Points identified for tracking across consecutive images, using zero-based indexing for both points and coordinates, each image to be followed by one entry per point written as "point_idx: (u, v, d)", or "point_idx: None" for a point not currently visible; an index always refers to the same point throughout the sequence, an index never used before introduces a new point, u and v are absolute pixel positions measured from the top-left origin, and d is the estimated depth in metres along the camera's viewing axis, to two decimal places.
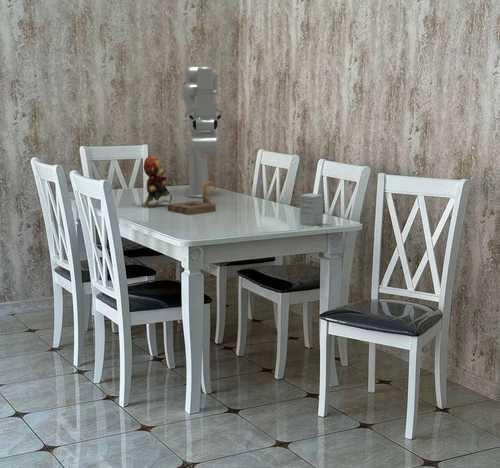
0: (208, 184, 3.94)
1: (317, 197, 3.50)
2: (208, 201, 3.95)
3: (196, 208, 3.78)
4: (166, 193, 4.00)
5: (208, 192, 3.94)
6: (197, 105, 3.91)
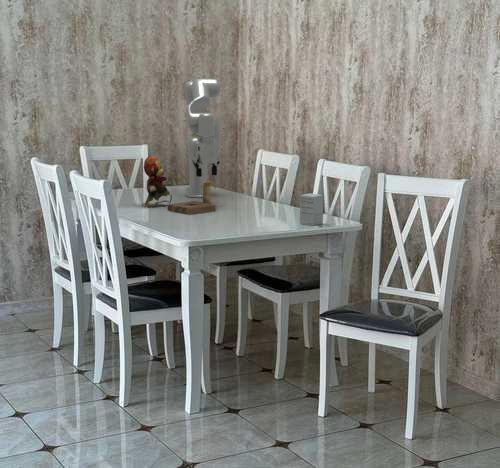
0: (208, 184, 3.94)
1: (317, 197, 3.50)
2: (208, 201, 3.95)
3: (196, 208, 3.78)
4: (166, 193, 4.00)
5: (208, 192, 3.94)
6: None
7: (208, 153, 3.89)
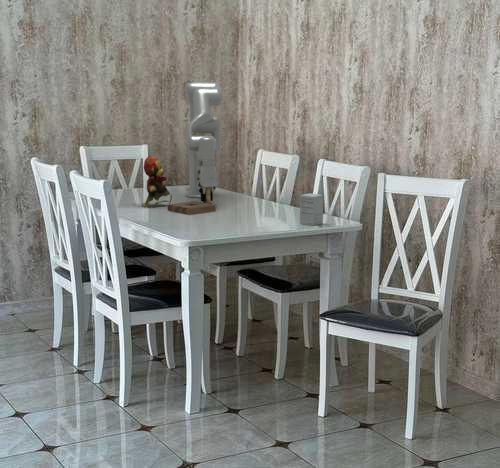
0: None
1: (317, 197, 3.50)
2: (208, 201, 3.95)
3: (196, 208, 3.78)
4: (166, 193, 4.00)
5: (208, 192, 3.94)
6: None
7: (208, 176, 3.92)
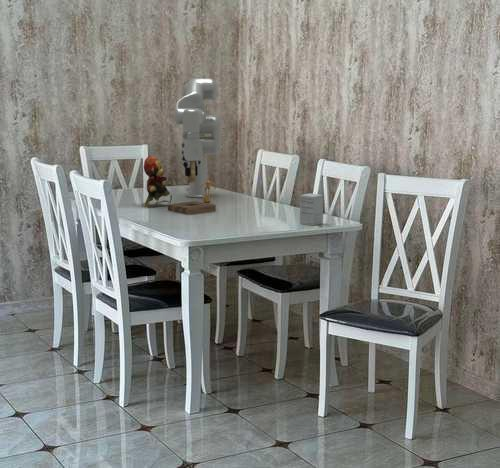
0: None
1: (317, 197, 3.50)
2: (193, 175, 3.82)
3: (196, 208, 3.78)
4: (166, 193, 4.00)
5: (193, 166, 3.81)
6: None
7: (193, 150, 3.79)
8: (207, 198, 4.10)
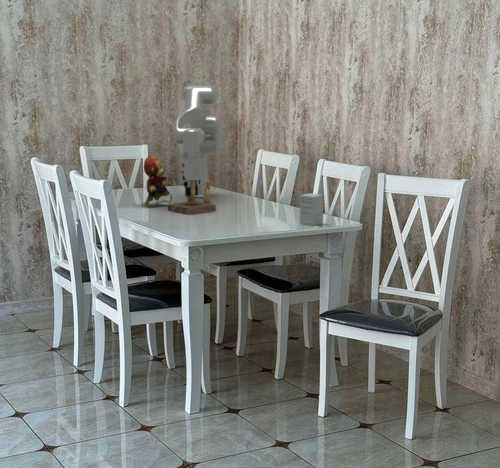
0: None
1: (317, 197, 3.50)
2: (193, 195, 3.84)
3: (196, 208, 3.78)
4: (166, 193, 4.00)
5: (193, 186, 3.83)
6: None
7: (193, 170, 3.80)
8: (207, 198, 4.10)
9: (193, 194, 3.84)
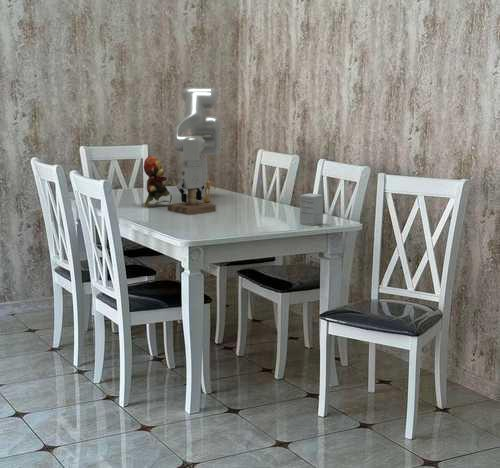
0: None
1: (317, 197, 3.50)
2: (193, 204, 3.85)
3: (196, 208, 3.78)
4: (166, 193, 4.00)
5: (193, 195, 3.84)
6: None
7: (193, 178, 3.81)
8: (207, 198, 4.10)
9: (193, 203, 3.85)
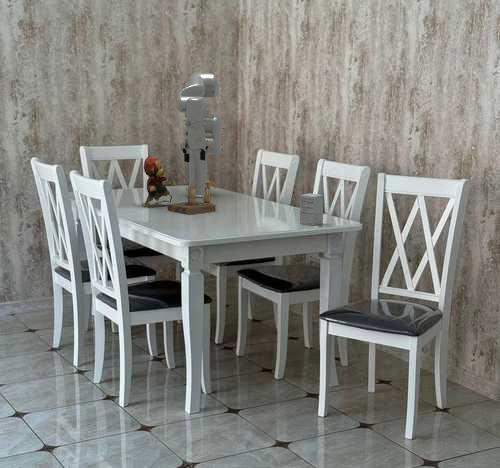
0: (193, 187, 3.83)
1: (317, 197, 3.50)
2: (193, 204, 3.85)
3: (196, 208, 3.78)
4: (166, 193, 4.00)
5: (193, 195, 3.84)
6: None
7: (196, 138, 3.83)
8: (207, 198, 4.10)
9: (193, 203, 3.85)
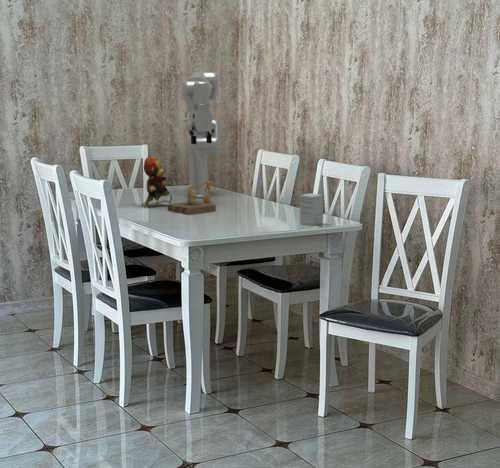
0: (193, 187, 3.83)
1: (317, 197, 3.50)
2: (193, 204, 3.85)
3: (196, 208, 3.78)
4: (166, 193, 4.00)
5: (193, 195, 3.84)
6: None
7: (203, 121, 3.92)
8: (207, 198, 4.10)
9: (193, 203, 3.85)
